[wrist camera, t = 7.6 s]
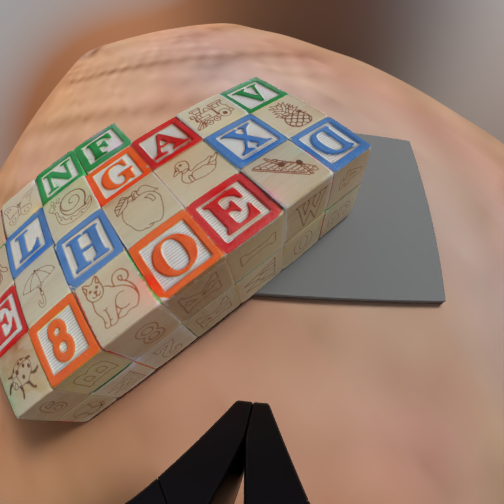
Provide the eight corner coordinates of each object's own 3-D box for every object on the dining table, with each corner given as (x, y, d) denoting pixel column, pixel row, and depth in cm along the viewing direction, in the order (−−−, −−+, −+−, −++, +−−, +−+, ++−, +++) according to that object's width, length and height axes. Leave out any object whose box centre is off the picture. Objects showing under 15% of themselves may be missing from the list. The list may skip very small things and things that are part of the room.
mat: (442, 302, 16) (445, 300, 16) (102, 279, 19) (99, 277, 18) (407, 144, 23) (409, 141, 22) (156, 133, 25) (155, 130, 25)
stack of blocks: (353, 215, 19) (237, 124, 24) (377, 145, 14) (229, 60, 19) (83, 423, 14) (23, 276, 19) (12, 420, 8) (-29, 237, 13)
